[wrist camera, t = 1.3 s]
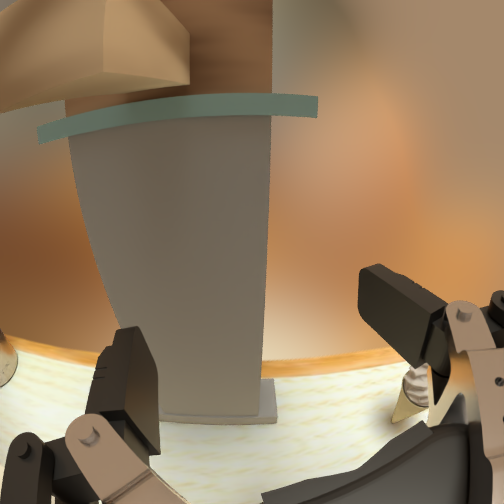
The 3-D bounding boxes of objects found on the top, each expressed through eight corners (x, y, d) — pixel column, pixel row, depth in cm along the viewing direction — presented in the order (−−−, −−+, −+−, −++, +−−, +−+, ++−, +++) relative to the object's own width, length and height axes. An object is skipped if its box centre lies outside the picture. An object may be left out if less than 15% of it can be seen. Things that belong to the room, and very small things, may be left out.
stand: (151, 419, 26) (36, 127, 10) (157, 385, 30) (81, 114, 14) (276, 423, 26) (318, 96, 10) (272, 387, 31) (296, 95, 15)
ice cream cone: (393, 397, 28) (449, 311, 20) (417, 422, 24) (487, 342, 16) (365, 419, 26) (422, 336, 18) (391, 447, 22) (466, 374, 14)
